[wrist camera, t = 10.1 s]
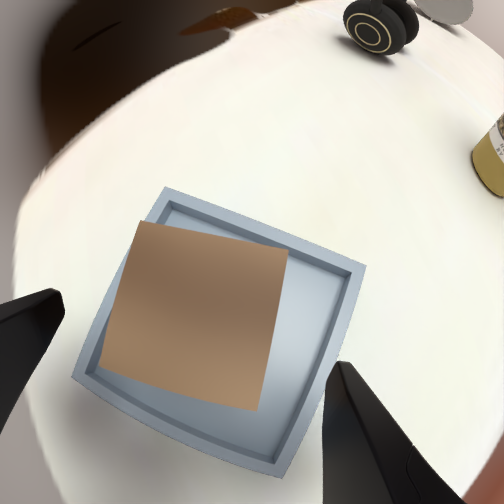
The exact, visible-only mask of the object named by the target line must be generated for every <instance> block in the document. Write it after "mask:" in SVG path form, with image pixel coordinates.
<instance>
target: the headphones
mask: <svg viewBox="0 0 504 504" xmlns="http://www.w3.org/2000/svg"><path fill="white" fill-rule="evenodd" d="M406 1H407V0H357V1H354V2H352V3H351V4H350V5H349V6H348V7H347V8H346V10H345V11H344V15H343V21H344V25H345V28H346V30H347V32H348V33H349V35H350V36H351V37H352V39H353V40H354V41H355V42H356V43H357V44H359V45H360V46H361V47H363V48H364V49H366V50H368V51H370V52H372V53H376V54H379V55H392V54H395V53H397V52H399V51H400V50H401V49H402V48H403V46H404V45H406V44H408V43H410V42H411V41H413V40H414V39H415V37H416V36H417V33H418V31H419V21H418V18H417V15H416V13H415V12H414V10H413V9H412V8H411V7H410V5H408V4H407V3H406Z"/></svg>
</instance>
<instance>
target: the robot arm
mask: <svg viewBox="0 0 504 504" xmlns="http://www.w3.org/2000/svg"><path fill="white" fill-rule="evenodd" d="M64 315H65V308H64V304H63V299H62V295H61V293H60V291H58V290H55V289H53V288H48V289H45V290H42V291H39V292H36V293H33V294H30V295H27V296H24V297H21V298H18V299H15V300H12V301H9V302H6V303H3V304H0V434H1V432H2V430H3V427H4V425H5V423H6V421H7V419H8V417H9V415H10V413H11V411H12V409H13V407H14V406H15V404H16V402H17V400H18V398H19V396H20V394H21V393H22V391H23V389H24V387H25V385H26V384H27V382H28V380H29V379H30V377H31V375H32V373H33V372H34V370H35V368H36V367H37V365H38V363H39V362H40V360H41V358H42V357H43V355H44V354H45V352H46V350H47V348H48V346H49V345H50V343H51V341H52V339H53V337H54V335H55V333H56V331H57V329H58V327H59V325H60V323H61V322H62V320H63V318H64ZM412 445H413V443H412V442H411V441H410V439H409V438H408V437H407V435H406V434H405V433H404V431H403V430H402V429H401V428H400V426H399V425H398V424H397V422H396V421H395V420H394V418H393V417H392V416H391V414H390V413H389V412H388V411H387V409H386V408H385V407H384V405H383V404H382V403H381V401H380V400H379V399H378V398H377V396H376V395H375V394H374V392H373V391H372V390H371V388H370V387H369V386H368V385H367V383H366V382H365V381H364V379H363V378H362V377H361V375H360V374H359V373H358V372H357V370H356V369H355V368H354V366H353V365H352V364H351V363H350V362H345V361H337V362H336V363H335V364H334V366H333V368H332V370H331V372H330V374H329V376H328V378H327V380H326V385H325V399H324V411H323V423H322V448H323V504H467V503H465V502H464V501H463V500H462V499H461V498H460V497H459V496H458V495H457V494H456V493H455V492H454V491H453V490H452V489H451V488H450V487H449V486H448V485H447V484H446V482H445V481H444V480H443V479H442V478H441V477H440V476H439V475H438V474H437V473H436V472H435V471H434V469H433V468H432V467H431V466H430V465H429V464H428V462H427V461H426V460H425V459H424V457H423V456H422V455H421V454H420V452H419V451H418V450H417V448H416V447H415V446H414V445H413V446H412Z"/></svg>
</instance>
